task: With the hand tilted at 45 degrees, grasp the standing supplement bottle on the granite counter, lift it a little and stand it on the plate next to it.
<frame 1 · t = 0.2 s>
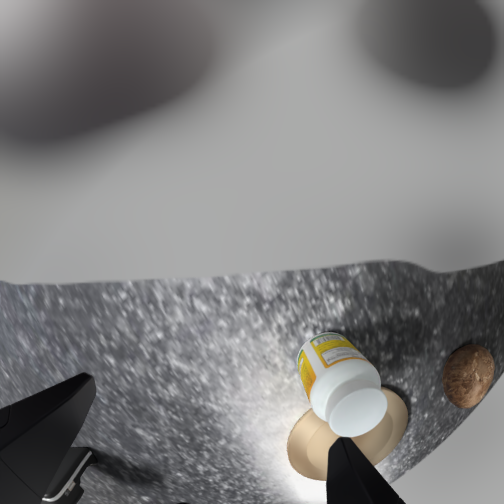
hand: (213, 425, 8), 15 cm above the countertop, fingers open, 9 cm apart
supplement bottle: (323, 357, 24), on the countertop
plate: (349, 436, 24), on the countertop
battery charger: (82, 455, 24), on the countertop
mushroom: (455, 366, 24), on the countertop
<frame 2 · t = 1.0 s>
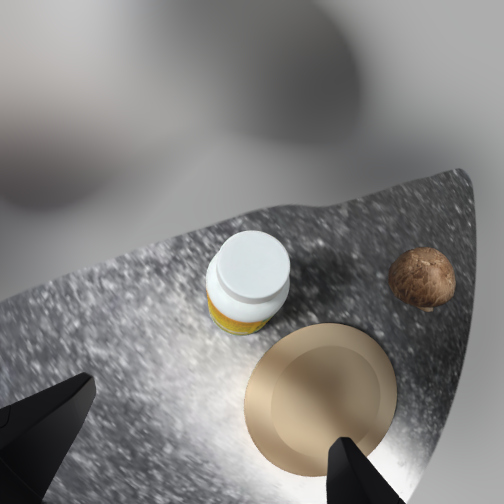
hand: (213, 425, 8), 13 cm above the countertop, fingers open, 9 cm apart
supplement bottle: (239, 307, 24), on the countertop
plate: (325, 402, 20), on the countertop
mushroom: (407, 287, 27), on the countertop
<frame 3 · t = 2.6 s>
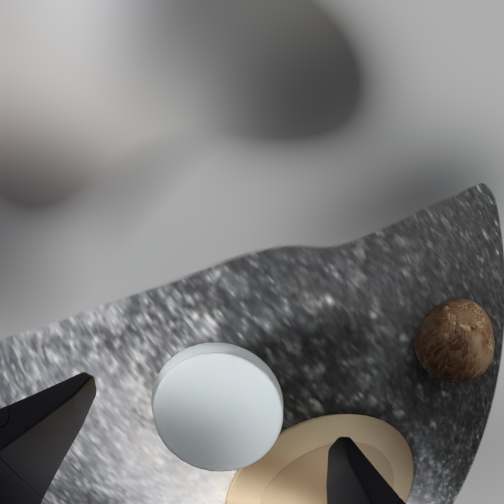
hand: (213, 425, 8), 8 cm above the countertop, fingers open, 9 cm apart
supplement bottle: (216, 396, 16), on the countertop
plate: (326, 498, 12), on the countertop
mushroom: (434, 347, 19), on the countertop
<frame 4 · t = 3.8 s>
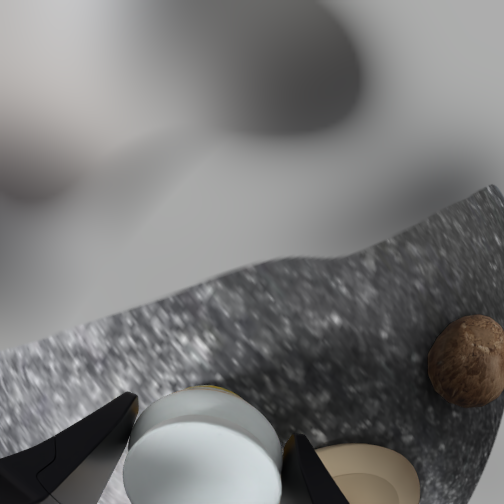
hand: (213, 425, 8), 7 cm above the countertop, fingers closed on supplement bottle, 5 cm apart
supplement bottle: (208, 428, 13), on the countertop, touching gripper
mushroom: (446, 365, 16), on the countertop
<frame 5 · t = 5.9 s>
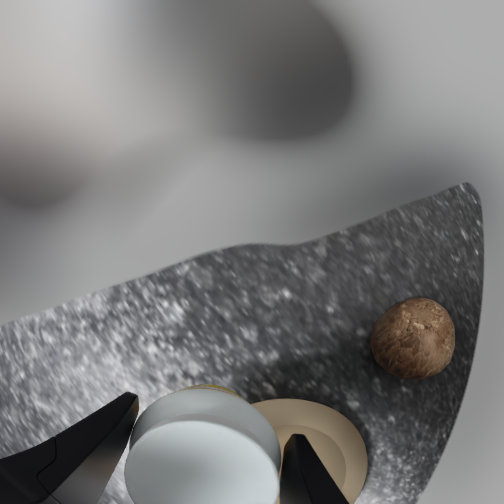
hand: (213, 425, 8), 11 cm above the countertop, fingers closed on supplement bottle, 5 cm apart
supplement bottle: (208, 427, 13), point 4 cm above the countertop, touching gripper
plate: (279, 479, 15), on the countertop
mushroom: (395, 343, 21), on the countertop
when the fingers open (9 cm above the countertop, at t = 7.9 s): supplement bottle stays where it is, resting on plate.
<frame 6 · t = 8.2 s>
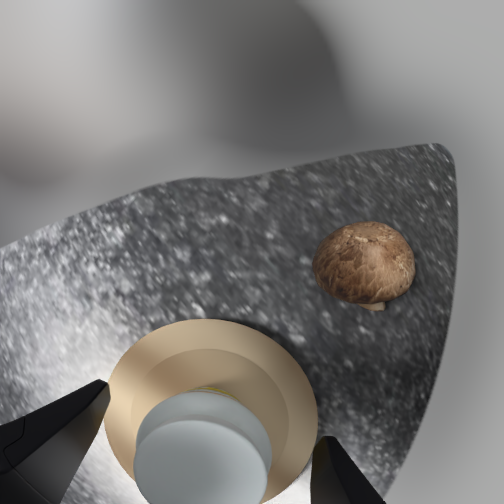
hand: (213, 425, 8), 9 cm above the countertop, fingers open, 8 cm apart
supplement bottle: (207, 426, 14), point 1 cm above the countertop, touching plate
plate: (209, 422, 15), on the countertop
mushroom: (349, 278, 22), on the countertop
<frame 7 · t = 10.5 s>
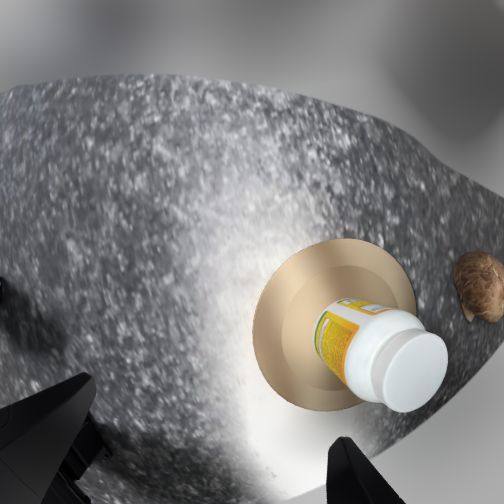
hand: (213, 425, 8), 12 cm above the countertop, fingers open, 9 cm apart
supplement bottle: (343, 332, 19), point 1 cm above the countertop, touching plate
plate: (340, 328, 20), on the countertop
mushroom: (463, 285, 22), on the countertop
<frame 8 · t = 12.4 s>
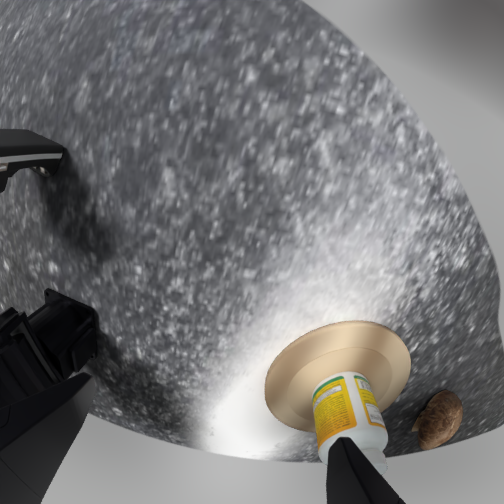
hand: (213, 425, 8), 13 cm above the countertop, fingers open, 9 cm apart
supplement bottle: (339, 389, 22), point 1 cm above the countertop, touching plate
plate: (339, 382, 23), on the countertop
battery charger: (41, 156, 18), on the countertop
mushroom: (431, 404, 24), on the countertop
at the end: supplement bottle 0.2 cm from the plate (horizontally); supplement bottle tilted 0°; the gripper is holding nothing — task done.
